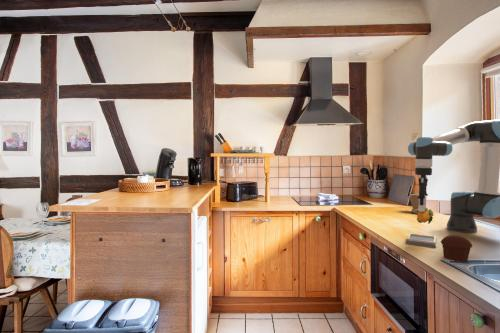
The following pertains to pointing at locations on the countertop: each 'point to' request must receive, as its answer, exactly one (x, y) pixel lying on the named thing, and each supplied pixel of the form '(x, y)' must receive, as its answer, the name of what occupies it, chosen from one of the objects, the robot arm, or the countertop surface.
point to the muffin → (456, 248)
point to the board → (421, 240)
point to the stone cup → (414, 202)
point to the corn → (425, 216)
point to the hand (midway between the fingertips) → (422, 209)
